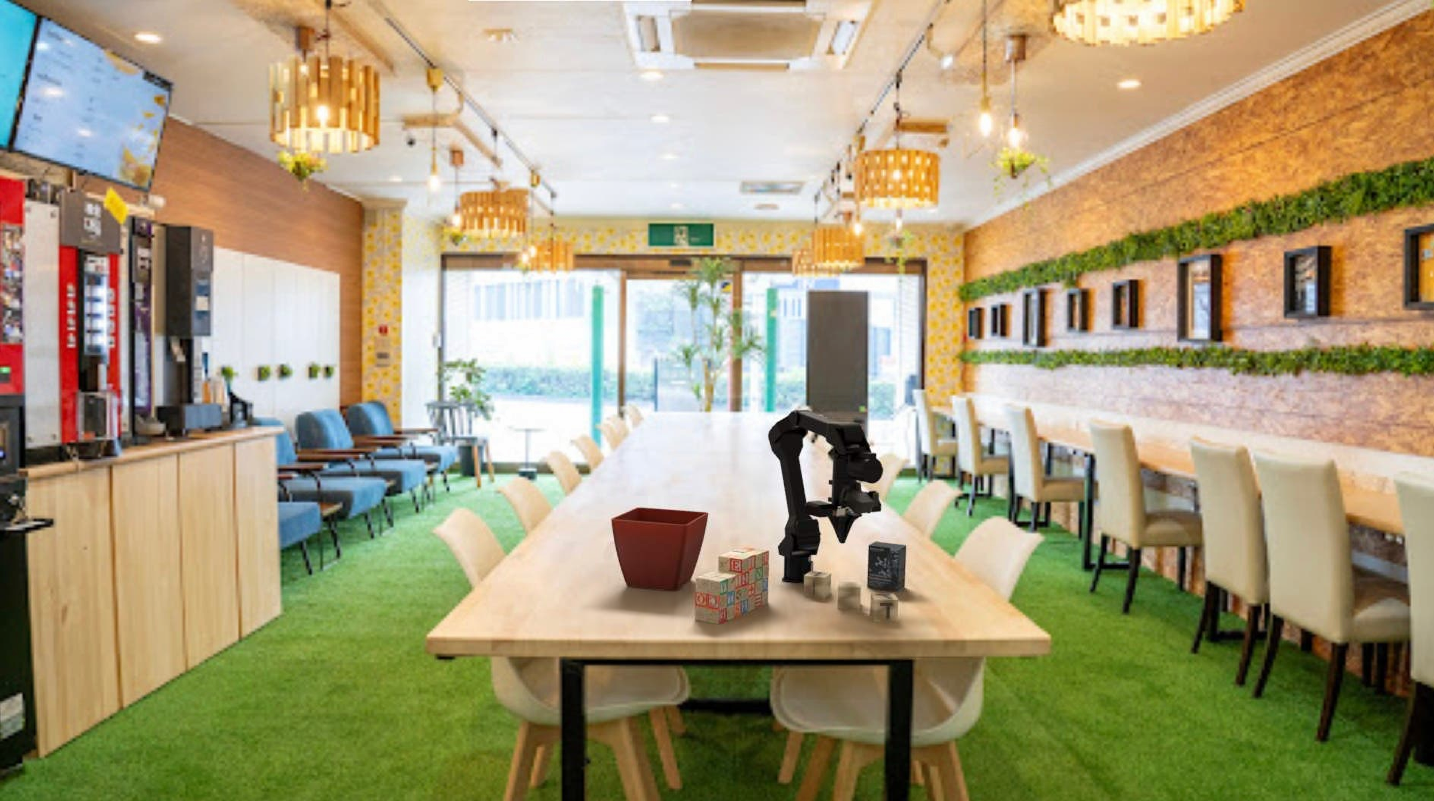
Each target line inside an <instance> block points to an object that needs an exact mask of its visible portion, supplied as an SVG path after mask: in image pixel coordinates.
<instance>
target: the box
mask: <svg viewBox="0 0 1434 801" xmlns="http://www.w3.org/2000/svg"><path fill="white" fill-rule="evenodd" d="M867 551H868V552H867V554H868V555H867V556H868V557H867V583H866V586H867V588H871V589H872V588H873V589H879V590H883V591H884V590H886V591H891V592H896V593H899V592H900V591H901V590H903V589H904V588H906V587H905V586H906V562H907V545H906V544H900V543H889V542H882V541H878V540H877V541H874V542H872V543H870V544H868V550H867Z"/></svg>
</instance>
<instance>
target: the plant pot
mask: <svg viewBox="0 0 1434 801" xmlns="http://www.w3.org/2000/svg"><path fill="white" fill-rule="evenodd" d="M708 518H709V512H707V511H706V512H705V511H695V510H684V509H683V510H682V509H681V510H680V509H667V508H657V507H656V508H655V507H642V506H641V507H635V508H633V509H631V510H628V511H625V512H624V513H621V514H619V515H616V516H614V517H612V518H611V519H610V521H611V528H612V535H613V542H614V543H613V544H614V547H615V552H616V555H617V556H616V557H617V560H618V563H619V567H620V570H621V573H622V577H623V580H624V582H625V585H626V586H627V587H630V588H631V587H632V588H639V589H650V590H658V591H659V590H660V591H668V592H676V591H678V590H680V589H681V588H682V587H683V586H685V585H686V584H687V583H689V582H690V581H691V580H692V578H693V575H694V572H695V570H696V567H697V564H698V561H699V557H700V554H701V550H702V546H703V543H704V539H705V534H706V530H707V524H708Z"/></svg>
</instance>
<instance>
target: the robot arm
mask: <svg viewBox="0 0 1434 801" xmlns="http://www.w3.org/2000/svg"><path fill="white" fill-rule="evenodd" d="M809 432H811V433H813V434H817V435H818V436H821V437H823V438H825V442H826V443H827V444H829V445H830V446H831V447H832V448H831V449H829V450H828V452H827V455H828V456H832V478H831V479H828V485H830V486H831V496H828V497H827V502H826V501H822V500H811V501H807V496H806V491H805V485H804V479H803V472H802V467H801V466H802V465H801V460H800V455H801V453H802V450H803V448H804V439H805V437H807V436H808V434H809ZM767 435H768V436H767V437H768V438H767V439H768V442H769V445H770V450H771V452H772V454H774V456H775V457H776V458H777V459H778V461H779V464H780V470H781V476H782V482H783V484H782V485H783V489H784V496H785V500H786V507H787V512H788V513H787V514H788V519H787V521H786V524H785V526H784V537H783V539H782V540H781V541H780V543H779V544H778V545H777V550H778V551H777V552H778V555H779V556H782V557H783V577H781V581H782V582H793V583H803V584H804V575H806V574H807V573H809V572H810V571H814V560H812V556H817V555H818V552H819V549H820V548H819V547H820V544H821V539H822V538H821V535H822V533H821V531H820V523H819V520H818V519H817V518H821V519H822V518H828V520H829V521H830V524H831V526H832V528H833V531H834V533H835V535H836V537H837V541H838V543H839V544H845V543H846V541H847V538H848V536H849V533H850V531H851V529H852V526H853V525H854V522H855V521H857V520H858V519H859V518H862V516H863V514H871V513H879V512H882V503H881V501H880V494H879V492H878V491H877V490H869V491H863V490H862V484H861V482H863V483H868V484H873V485H874V484H876V483H877V482H879V481H880V480H881V479H882V477H883V475H884V474H883V473H884V466H883V464H882V462H881V461H880V460H879V458H877V453H876V452H872V450H871V445H870V443H869V442H868V439H867V437H866V434H865V432H864V430H863V427H862V425H861V424H860V423H858V422H852V421H849V422H848V421H836V420H833V419H831V418H828V417H826V416H823V415H820V414H817V413H814V412H812V411H811V410H809V409H794V410H791V412H790V413H789V414H788V415H787V416H785V417H783V418H782V419H780V420H778V421H777V422H776V423H775V424H773V425H772V426H771V428H770V429H769V431H768V434H767ZM812 516H813V517H815V518H813V517H812Z"/></svg>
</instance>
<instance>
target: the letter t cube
mask: <svg viewBox="0 0 1434 801" xmlns="http://www.w3.org/2000/svg"><path fill="white" fill-rule="evenodd" d="M869 609H870V611H869V615H870V618H871V619H872V620H873V622H874V623H898V622H899V619H898V618H899V599H898V597H897V596H896V595H895V593H880V592H879V593H878V592H877V593H876V592H875V593H873V592H872V593H870V608H869Z"/></svg>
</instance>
